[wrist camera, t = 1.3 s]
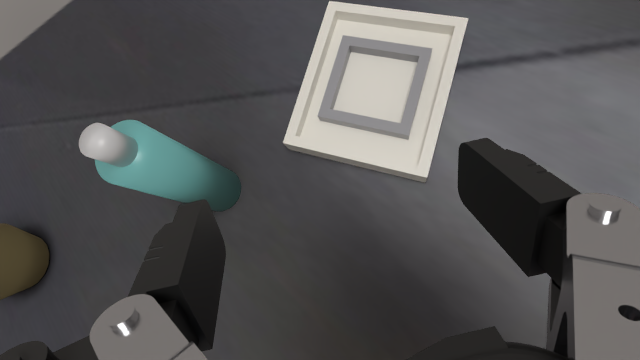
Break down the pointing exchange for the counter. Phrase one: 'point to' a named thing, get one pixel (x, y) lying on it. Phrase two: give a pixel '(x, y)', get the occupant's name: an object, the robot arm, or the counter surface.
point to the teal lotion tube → (157, 165)
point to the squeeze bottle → (20, 260)
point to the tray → (377, 88)
